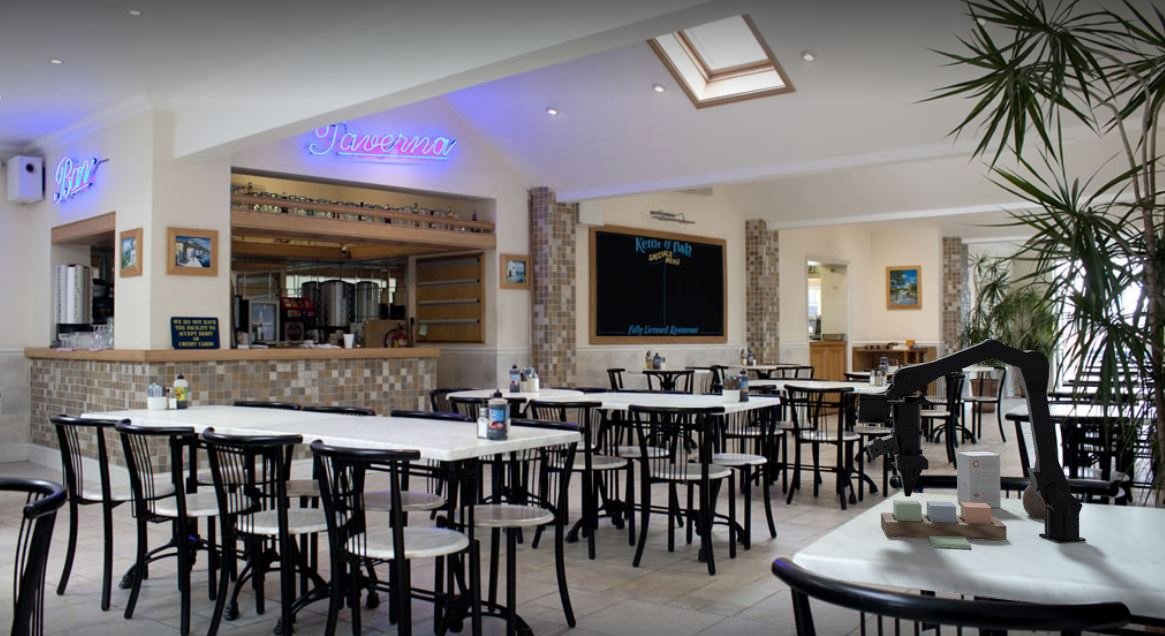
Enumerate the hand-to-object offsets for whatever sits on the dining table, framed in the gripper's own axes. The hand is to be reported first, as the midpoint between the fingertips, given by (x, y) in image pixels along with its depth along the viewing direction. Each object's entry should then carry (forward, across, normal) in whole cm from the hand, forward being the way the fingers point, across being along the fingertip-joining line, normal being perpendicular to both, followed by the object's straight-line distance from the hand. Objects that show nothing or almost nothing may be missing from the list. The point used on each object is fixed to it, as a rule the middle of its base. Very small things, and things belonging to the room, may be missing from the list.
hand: (907, 496), depth 202 cm
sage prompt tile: (+8, +10, +7) cm, 14 cm away
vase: (+8, -22, +32) cm, 40 cm away
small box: (+8, -32, +21) cm, 39 cm away
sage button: (+5, 0, 0) cm, 5 cm away
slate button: (+5, 0, +7) cm, 9 cm away
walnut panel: (+8, 0, +7) cm, 10 cm away
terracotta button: (+5, 0, +14) cm, 15 cm away
